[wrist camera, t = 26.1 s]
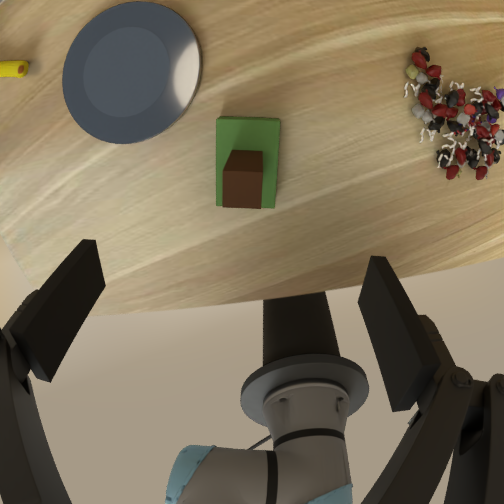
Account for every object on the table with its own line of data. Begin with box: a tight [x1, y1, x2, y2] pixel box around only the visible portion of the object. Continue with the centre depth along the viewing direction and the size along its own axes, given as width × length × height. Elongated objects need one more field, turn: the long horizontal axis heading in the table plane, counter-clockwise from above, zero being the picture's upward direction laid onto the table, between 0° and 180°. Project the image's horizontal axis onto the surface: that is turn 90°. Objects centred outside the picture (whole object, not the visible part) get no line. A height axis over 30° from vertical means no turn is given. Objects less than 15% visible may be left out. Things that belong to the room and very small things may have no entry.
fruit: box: [0, 60, 29, 78], centre depth 23 cm, size 10×2×5 cm, turn 74°
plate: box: [62, 1, 202, 144], centre depth 27 cm, size 16×16×1 cm
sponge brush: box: [216, 116, 280, 209], centre depth 28 cm, size 9×6×10 cm, turn 178°
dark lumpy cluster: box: [404, 47, 504, 180], centre depth 26 cm, size 15×14×5 cm
